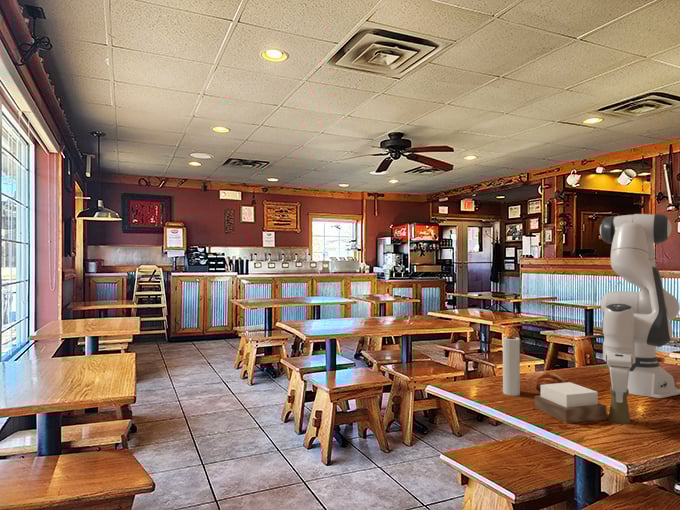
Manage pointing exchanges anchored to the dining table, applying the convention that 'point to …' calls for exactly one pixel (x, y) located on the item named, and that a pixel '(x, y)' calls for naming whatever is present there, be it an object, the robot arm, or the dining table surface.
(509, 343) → the paper towel roll
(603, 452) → the dining table surface
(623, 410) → the olive green pawn
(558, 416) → the tower base block
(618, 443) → the dining table surface
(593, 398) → the tower top block
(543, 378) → the croissant
